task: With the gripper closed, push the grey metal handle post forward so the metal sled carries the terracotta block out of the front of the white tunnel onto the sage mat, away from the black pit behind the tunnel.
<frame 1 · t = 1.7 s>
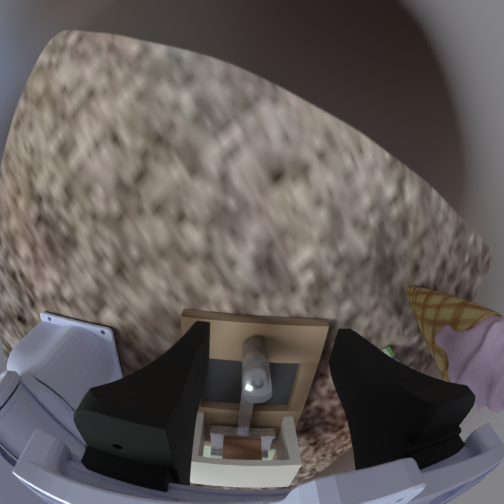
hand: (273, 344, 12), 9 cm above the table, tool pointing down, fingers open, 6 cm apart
ice cream cone: (408, 290, 22), on the table
terracotta block: (240, 444, 25), point 2 cm above the table, touching sled
tunnel: (242, 453, 22), on the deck, point 4 cm above the table
sled: (245, 429, 21), point 4 cm above the table, slide at 0.0 cm, touching terracotta block
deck: (241, 423, 26), on the table
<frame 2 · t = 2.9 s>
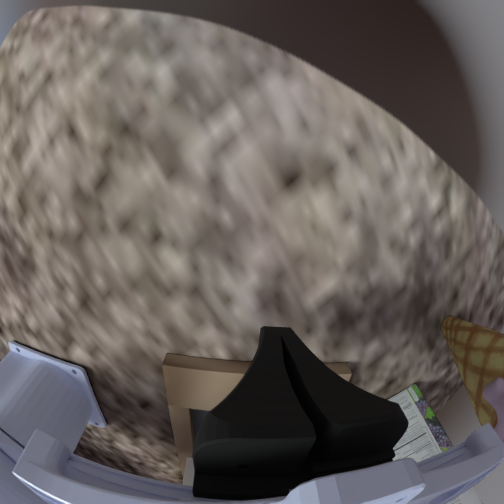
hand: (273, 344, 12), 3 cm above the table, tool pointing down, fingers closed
ice cream cone: (443, 321, 16), on the table
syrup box: (389, 411, 19), on the table
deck: (241, 465, 21), on the table
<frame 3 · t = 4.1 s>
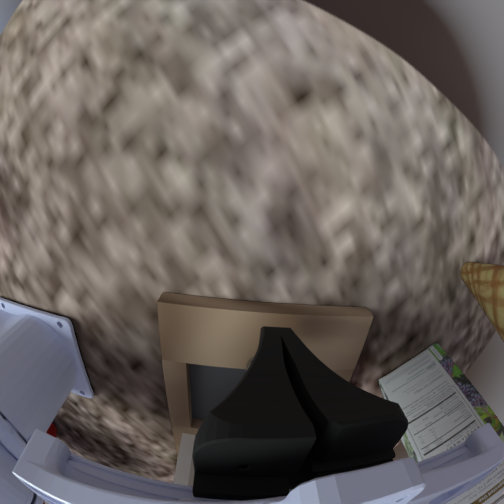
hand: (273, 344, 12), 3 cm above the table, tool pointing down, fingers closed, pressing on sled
ice cream cone: (462, 268, 15), on the table
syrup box: (409, 378, 18), on the table
tunnel: (246, 485, 15), on the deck, point 4 cm above the table
sled: (250, 468, 14), point 4 cm above the table, slide at 1.4 cm, touching gripper, terracotta block
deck: (245, 445, 19), on the table
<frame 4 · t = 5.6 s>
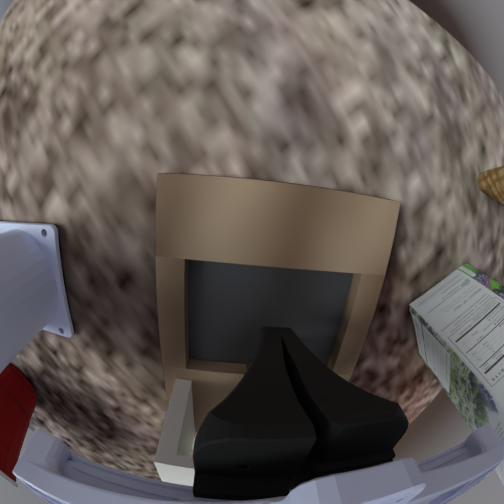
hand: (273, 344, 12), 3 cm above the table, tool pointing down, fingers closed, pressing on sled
ice cream cone: (478, 178, 13), on the table
plastic cup: (20, 382, 18), on the table
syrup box: (439, 310, 16), on the table
tunnel: (255, 450, 13), on the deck, point 4 cm above the table
sled: (250, 468, 14), point 4 cm above the table, slide at 7.9 cm, touching gripper, terracotta block
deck: (253, 402, 17), on the table
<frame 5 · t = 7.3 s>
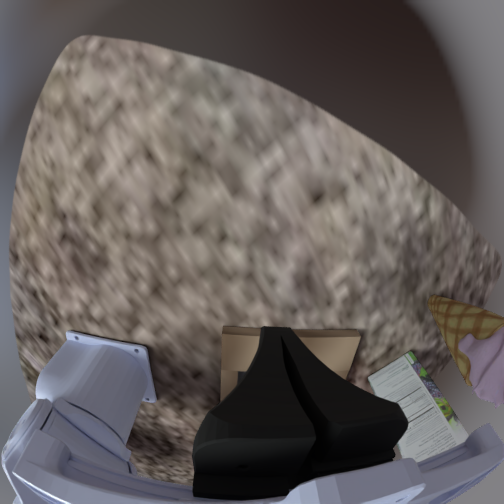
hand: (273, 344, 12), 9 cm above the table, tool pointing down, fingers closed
ice cream cone: (429, 299, 22), on the table
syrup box: (391, 376, 25), on the table
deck: (271, 429, 27), on the table
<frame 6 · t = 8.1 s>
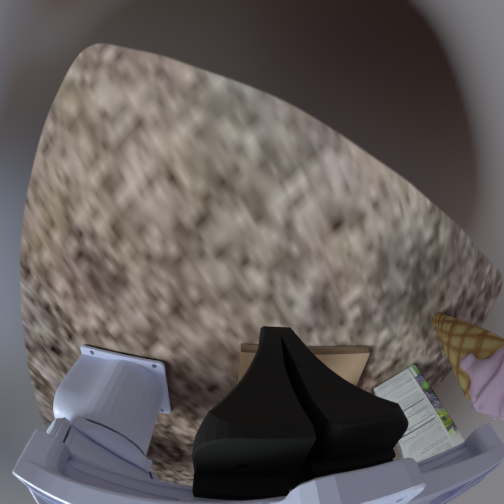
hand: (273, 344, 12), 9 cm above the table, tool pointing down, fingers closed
ice cream cone: (433, 316, 23), on the table
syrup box: (395, 387, 26), on the table
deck: (280, 436, 28), on the table
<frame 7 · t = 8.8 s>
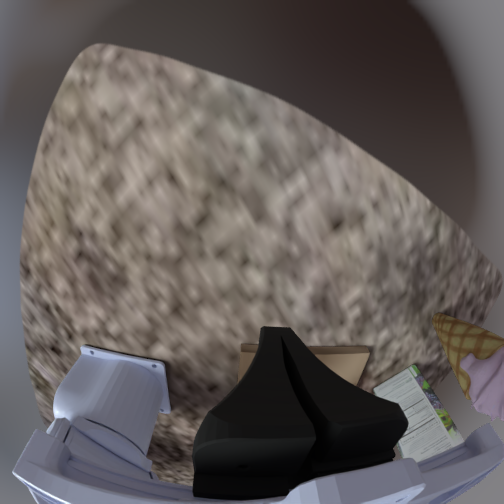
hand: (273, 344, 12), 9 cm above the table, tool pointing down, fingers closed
ice cream cone: (433, 316, 23), on the table
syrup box: (395, 387, 26), on the table
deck: (280, 436, 28), on the table
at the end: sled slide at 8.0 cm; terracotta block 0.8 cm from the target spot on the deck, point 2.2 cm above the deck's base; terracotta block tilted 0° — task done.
